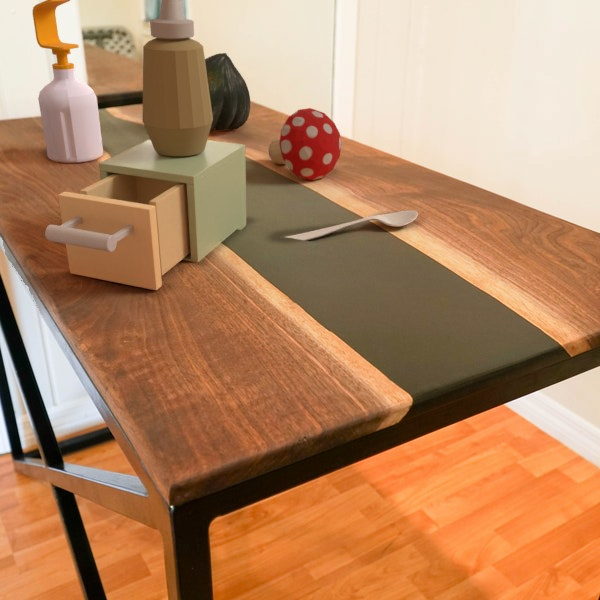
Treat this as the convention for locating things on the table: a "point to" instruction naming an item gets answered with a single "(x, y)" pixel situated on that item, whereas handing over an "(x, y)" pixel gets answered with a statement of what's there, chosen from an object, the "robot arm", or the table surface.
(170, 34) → the squeeze bottle
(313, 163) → the decorative mushroom
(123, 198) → the drawer
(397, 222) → the spoon
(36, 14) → the soap bottle
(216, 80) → the squash
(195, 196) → the cabinet
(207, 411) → the table surface
